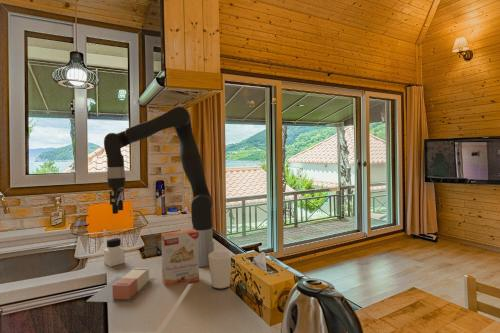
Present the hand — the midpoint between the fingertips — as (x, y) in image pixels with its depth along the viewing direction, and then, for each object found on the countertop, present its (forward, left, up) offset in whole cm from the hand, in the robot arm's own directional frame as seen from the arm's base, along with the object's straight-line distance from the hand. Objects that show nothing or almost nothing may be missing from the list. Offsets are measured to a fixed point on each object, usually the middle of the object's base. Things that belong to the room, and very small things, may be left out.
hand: (118, 211), depth 135 cm
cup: (-51, +16, -27) cm, 59 cm away
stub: (-18, +28, -25) cm, 42 cm away
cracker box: (-34, +14, -27) cm, 45 cm away
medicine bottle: (+6, -6, -27) cm, 28 cm away
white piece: (-14, +23, -26) cm, 38 cm away
